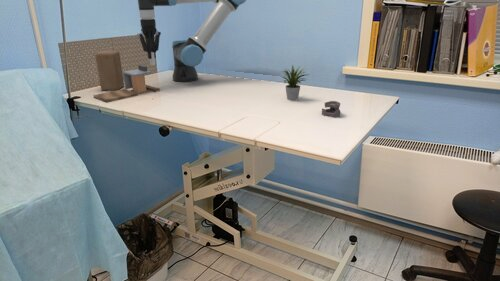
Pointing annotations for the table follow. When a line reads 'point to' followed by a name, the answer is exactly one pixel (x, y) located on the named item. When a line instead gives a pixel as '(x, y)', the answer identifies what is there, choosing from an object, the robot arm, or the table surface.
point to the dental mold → (331, 109)
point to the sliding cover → (137, 72)
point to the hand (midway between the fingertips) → (152, 64)
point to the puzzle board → (121, 94)
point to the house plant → (293, 83)
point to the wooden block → (109, 70)
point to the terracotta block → (138, 83)
